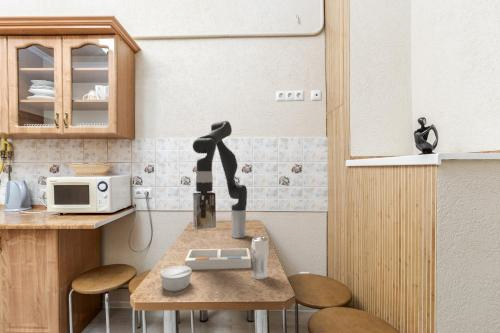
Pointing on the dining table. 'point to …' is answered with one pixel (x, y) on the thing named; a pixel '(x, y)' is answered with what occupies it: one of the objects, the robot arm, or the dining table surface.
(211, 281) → the dining table surface
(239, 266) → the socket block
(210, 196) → the coffee box
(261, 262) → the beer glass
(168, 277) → the ramekin
